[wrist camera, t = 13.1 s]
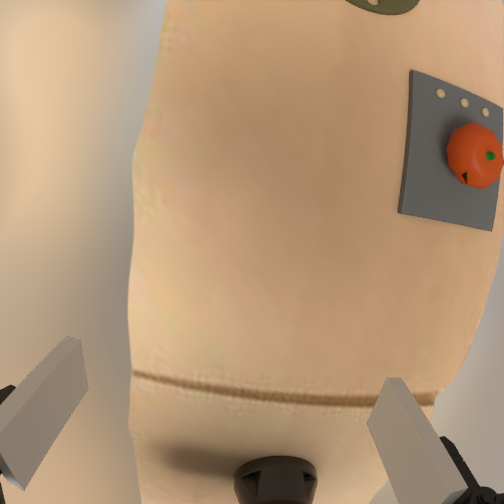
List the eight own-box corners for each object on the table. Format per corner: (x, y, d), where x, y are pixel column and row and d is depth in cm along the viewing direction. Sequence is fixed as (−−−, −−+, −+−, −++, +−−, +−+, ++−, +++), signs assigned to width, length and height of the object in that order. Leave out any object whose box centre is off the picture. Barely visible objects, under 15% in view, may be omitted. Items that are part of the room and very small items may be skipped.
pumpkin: (438, 118, 31) (473, 111, 24) (483, 136, 31) (519, 134, 24) (433, 177, 33) (468, 181, 26) (478, 190, 33) (514, 197, 26)
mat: (487, 230, 36) (493, 232, 34) (397, 212, 35) (402, 214, 34) (498, 109, 31) (504, 108, 30) (409, 71, 31) (414, 69, 29)
